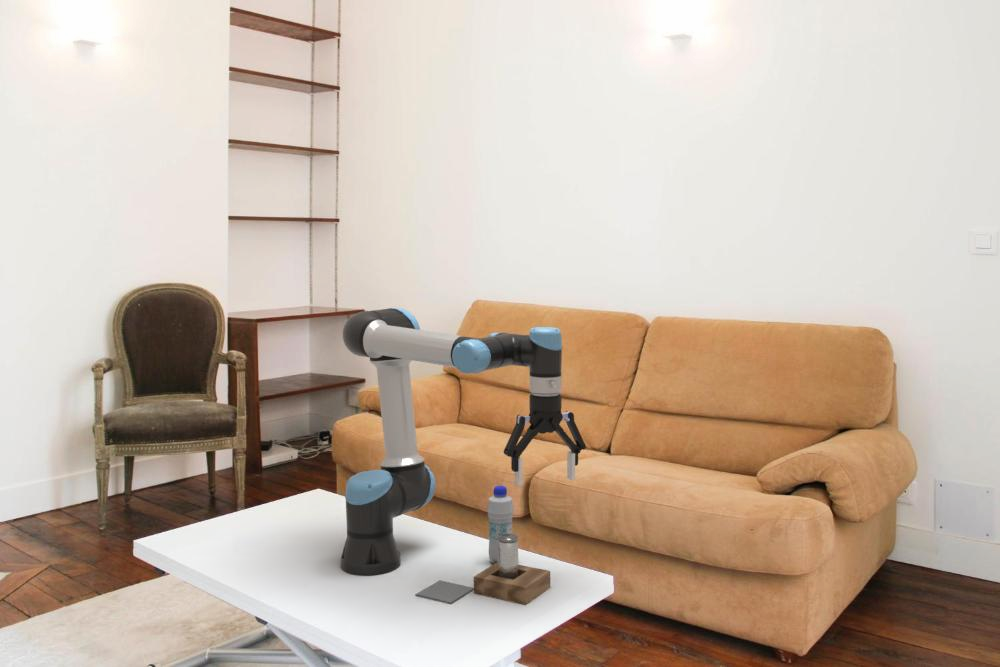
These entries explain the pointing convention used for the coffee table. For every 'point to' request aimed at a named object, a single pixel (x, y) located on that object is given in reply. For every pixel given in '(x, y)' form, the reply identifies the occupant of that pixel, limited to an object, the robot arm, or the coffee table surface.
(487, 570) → the housing
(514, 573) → the shiny metal cylinder
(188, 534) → the coffee table surface
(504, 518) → the bottle
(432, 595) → the mat
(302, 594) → the coffee table surface
